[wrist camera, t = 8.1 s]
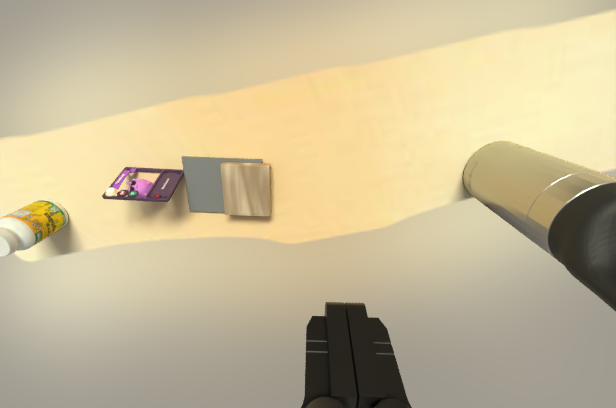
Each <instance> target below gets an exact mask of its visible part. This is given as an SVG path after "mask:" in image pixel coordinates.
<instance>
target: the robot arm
mask: <svg viewBox="0 0 616 408" xmlns="http://www.w3.org/2000/svg"><path fill="white" fill-rule="evenodd" d="M463 181H464V185H465V188H466V189H467V191H468V192H469V193H470V194H471V195H472V196H473V197H475V198H476V199H477V200H479V201H480V202H481V203H483V204H484V205H485V206H486V207H488V208H489V209H490V210H492V211H493V212H494V213H496V214H497V215H499V216H500V217H501V218H503V219H504V220H505V221H506V222H508V223H509V224H510V225H512V226H513V227H515V228H516V229H517V230H518V231H519V232H521V233H522V234H523V235H525V236H526V237H527V238H529V239H530V240H531V241H533V242H534V243H536V244H537V245H538V246H540V247H541V248H542V249H544V250H545V251H546V252H547V253H549V254H550V255H551V256H553V257H554V258H556V259H557V260H558V261H559V262H561V263H562V264H563V265H564V266H565V267H566V268H567V270H568V271H569V272H570V273H571V274H572V275H573V276H574V277H575V278H576V279H578V280H579V281H580V282H581V283H582V284H584V285H585V286H586V287H587V288H589V289H590V290H591V291H592V292H594V293H595V294H596V295H597V296H599V297H600V298H601V299H602V300H603V301H604V302H605V303H607V304H608V305H609V306H610V307H611V308H612V309H614V310H615V311H616V178H615V177H612V176H609V175H606V174H604V173H600V172H597V171H594V170H591V169H588V168H585V167H582V166H580V165H577V164H574V163H571V162H568V161H565V160H562V159H559V158H556V157H553V156H550V155H547V154H544V153H541V152H538V151H535V150H533V149H530V148H527V147H524V146H521V145H518V144H515V143H512V142H508V141H499V142H494V143H491V144H488V145H486V146H484V147H483V148H481V149H480V150H478V151H477V152H476V153H475V154H474V155H473V156H472V157H471V158H470V160H469V161H468V163H467V165H466V167H465V170H464V175H463ZM301 408H412V407H411V406H410V404H409V402H408V399H407V396H406V393H405V390H404V386H403V383H402V379H401V376H400V373H399V369H398V365H397V362H396V358H395V356H394V351H393V348H392V345H391V341H390V338H389V334H388V331H387V328H386V327H385V326H384V325H383V323H382V322H381V321H380V319H379V318H368V316H367V312H366V308H365V305H364V303H345V304H344V303H336V302H326V304H325V316H312V318H311V320H310V321H309V323H308V326H307V334H306V370H305V397H304V402H303V405H302V407H301Z"/></svg>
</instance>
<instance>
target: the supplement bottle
mask: <svg viewBox="0 0 616 408" xmlns="http://www.w3.org/2000/svg"><path fill="white" fill-rule="evenodd" d="M67 222H68V214H67V212H66V210H65V209H64V208H63V207H62V206H61V205H60V204H58V203H57V202H55V201H52V200H48V199H42V200H39V201H36V202H34V203H32V204H30V205H28V206H26V207H24V208H21V209H19V210H17V211H15V212H13V213H11V214H9V215H7V216H4V217H2V218H0V257H4V256H8V255H9V254H11V253H13V252H15V251H16V250H25V249H28V248H30V247H32V246H33V245H35V244H37V243H38V242H40V241H42V240H43V239H45V238H46V237H48V236H50V235H51V234H53V233H54V232H56V231H58V230H59V229H61V228H62V227H64V226H65V225H66V224H67Z"/></svg>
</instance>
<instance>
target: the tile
mask: <svg viewBox="0 0 616 408" xmlns="http://www.w3.org/2000/svg"><path fill="white" fill-rule="evenodd" d="M220 166H221V177H222V187H223V198H224V208H225V215H246V216H270V215H271V172H270V164H262V163H235V162H223V163H222V164H221V165H220Z"/></svg>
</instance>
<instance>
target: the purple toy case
mask: <svg viewBox="0 0 616 408" xmlns="http://www.w3.org/2000/svg"><path fill="white" fill-rule="evenodd" d="M135 171H143V172H161V174H160V175H159V177H158V178H157V180H156V181H155V183H154V184H153V183H151V182H149V181H147V180H144V179H137V178H136V180H135V179H133V180H134V181H133V182H132V183H131V182H126V183H127V184H130V189H128V190H121V191H120V192H118V189H119V187H120V185H121V183H122V182H123V180H124V179H125V177H126V176H127V175H128V174H129V173H134V172H135ZM183 175H184V170H173V169H153V168H133V167H126V168H124V170H123V171H122V172H121V173H120V175H119V176H118V177H117V178H116V179H115V181H114V182H113V183H112V184H111V186H110V187H109V188H108V189H107V190H106V192H105V193H104V194H103V195H102V197H103V198H104V199H117V200H137V201H157V202H168V201H169V200H170V198H171V196H172V195H173V193H174V191H175V189H176V187H177V186H178V184H179V182H180V180H181V178H182V176H183ZM128 192H129V193H128ZM116 194H117V196H114V195H116ZM126 195H128V197H124V196H126Z"/></svg>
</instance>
